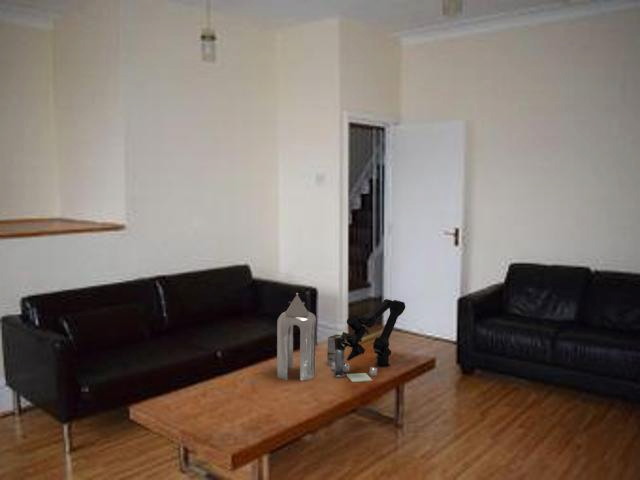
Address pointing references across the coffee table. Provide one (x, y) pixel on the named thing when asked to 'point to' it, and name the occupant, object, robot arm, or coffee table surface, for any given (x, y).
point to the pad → (359, 377)
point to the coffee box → (333, 348)
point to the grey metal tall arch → (285, 340)
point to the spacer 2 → (346, 367)
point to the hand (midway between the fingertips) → (341, 358)
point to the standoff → (338, 364)
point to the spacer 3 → (373, 371)
